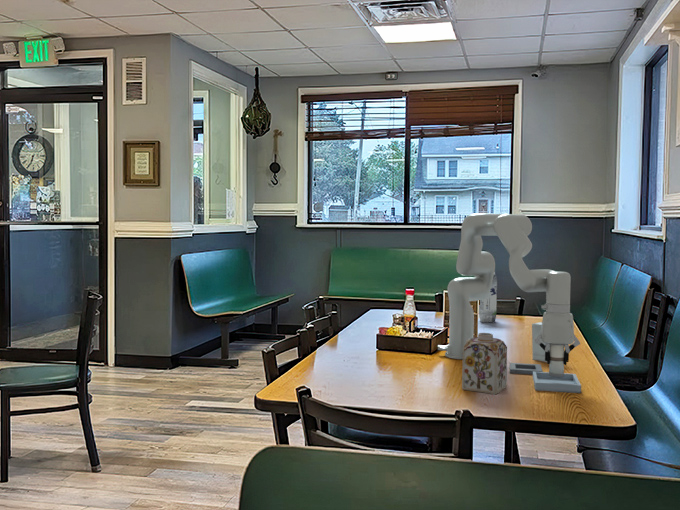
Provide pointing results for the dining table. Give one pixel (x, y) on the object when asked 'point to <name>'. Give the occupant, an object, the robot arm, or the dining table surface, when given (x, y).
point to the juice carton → (489, 304)
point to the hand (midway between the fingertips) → (556, 363)
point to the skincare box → (537, 350)
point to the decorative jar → (484, 364)
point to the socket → (524, 368)
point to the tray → (556, 383)
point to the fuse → (556, 360)
